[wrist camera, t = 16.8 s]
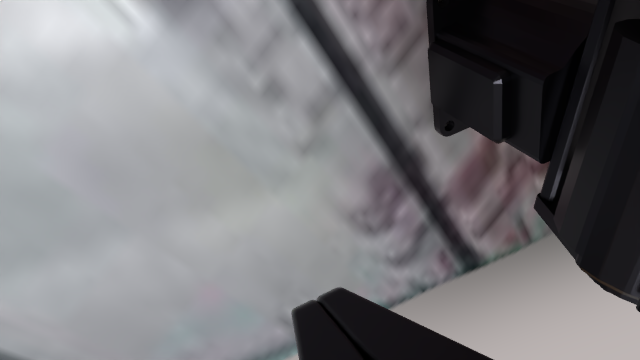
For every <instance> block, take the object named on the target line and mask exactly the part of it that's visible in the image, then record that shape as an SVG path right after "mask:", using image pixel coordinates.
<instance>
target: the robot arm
mask: <svg viewBox="0 0 640 360" xmlns="http://www.w3.org/2000/svg"><path fill="white" fill-rule="evenodd" d="M426 3H427V19H428V34H429V48H428V60H429V75H430V90H431V103H432V104H433V112H434V127H435V130H436V131H437V132H438V133H440V134H441V135H443V136H446V137H447V136H451V135H453V134H455V133H458V132H460V131H462V130H465V129H467V128H469V127H471V128H472V129H474V130H476V131H477V132H479V133H480V134H482V135H484V136H485V137H487V138H489V139H490V140H492V141H494V142H495V143H498V144H499V143H502V142H504V141H505V142H506V143H508V144H510V145H511V146H513V147H515V148H516V149H518V150H520V151H521V152H523V153H525V154H526V155H528V156H530V157H531V158H533V159H535V160H536V161H538V162H540V163H541V164H544V163H547V162H549V161H550V163H549V167H548V170H547V173H546V177H545V180H544V183H543V187H542V190H541V193H539V194H538V195H537V198H536V201H535V204H534V209H535V210H536V211H537V213H538V214H539V215H540V216H541V218H542V219H543V220H544V221H545V223H546V224H547V225H548V226H549V228H550V229H551V230H552V231H553V233H554V234H555V235H556V236H557V238H558V239H559V240H560V241H561V242H562V244H563V245H564V246H565V248H566V249H567V250H568V251H569V253H570V254H571V255H572V256H573V257H574V259H575V261H576V263H577V265H578V266H579V267H580V269H581V270H582V271H583V272H585V273H586V274H587V275H588V276H589V277H590V278H591V279H592V280H593V281H594V282H596V283H597V284H598V285H600V287H601V288H603V289H604V290H605V291H607V292H610V293H612V294H614V295H616V296H617V297H619V298H622V299H624V300H626V301H629V302H631V303H634V304H636V305H637V306H636V309H637V310H638V311H639V312H640V0H442V1H441V3H440V4H438V0H427V2H426ZM448 121H449V122H448ZM447 122H448V124H447V126H446V127H445V124H446V123H447ZM292 320H293V326H294V332H295V338H296V344H297V350H298V356H299V360H493V359H491V358H489V357H487V356H485V355H483V354H480V353H478V352H476V351H474V350H472V349H470V348H468V347H466V346H464V345H462V344H459V343H457V342H455V341H453V340H451V339H449V338H447V337H445V336H443V335H440V334H439V333H436V332H434V331H432V330H430V329H428V328H426V327H424V326H422V325H419V324H417V323H415V322H413V321H411V320H409V319H407V318H405V317H403V316H401V315H398V314H397V313H394V312H392V311H390V310H388V309H386V308H384V307H382V306H380V305H378V304H376V303H373V302H371V301H369V300H367V299H365V298H363V297H361V296H359V295H357V294H355V293H352V292H350V291H348V290H346V289H344V288H335V289H333V290H331V291H329V292H327V293H325V294H323V295H321V296H319V297H318V298H317V301H315V300H310V301H308V302H306V303H304V304H302V305H300V306H298V307H296V308H294V309H293V310H292Z"/></svg>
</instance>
